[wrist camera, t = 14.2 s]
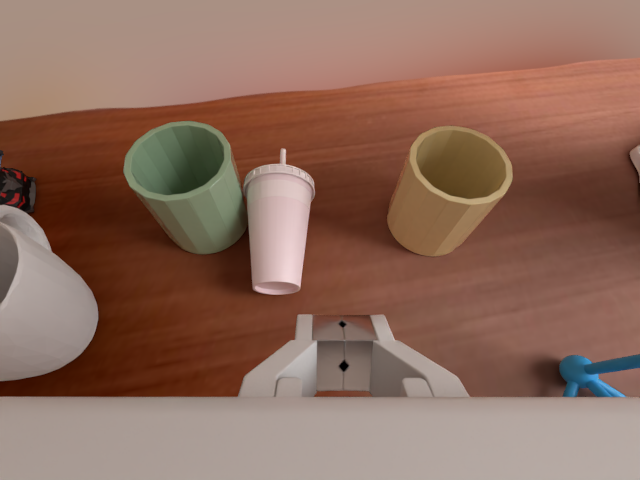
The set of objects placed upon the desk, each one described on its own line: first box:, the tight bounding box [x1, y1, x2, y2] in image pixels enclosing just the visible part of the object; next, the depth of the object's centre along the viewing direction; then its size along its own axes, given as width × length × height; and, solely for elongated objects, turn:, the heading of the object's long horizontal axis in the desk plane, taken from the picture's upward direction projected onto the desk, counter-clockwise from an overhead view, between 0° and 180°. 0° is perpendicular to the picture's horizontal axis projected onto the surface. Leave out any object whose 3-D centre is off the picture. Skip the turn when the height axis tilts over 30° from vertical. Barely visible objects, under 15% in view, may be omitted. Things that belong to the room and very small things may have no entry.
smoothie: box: [243, 149, 315, 295], centre depth 29 cm, size 6×6×14 cm
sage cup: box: [123, 121, 248, 254], centre depth 28 cm, size 8×8×8 cm
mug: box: [0, 205, 98, 381], centre depth 23 cm, size 13×9×10 cm
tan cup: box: [387, 126, 513, 256], centre depth 28 cm, size 8×8×8 cm
